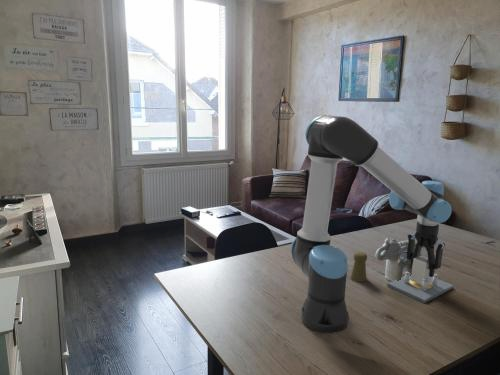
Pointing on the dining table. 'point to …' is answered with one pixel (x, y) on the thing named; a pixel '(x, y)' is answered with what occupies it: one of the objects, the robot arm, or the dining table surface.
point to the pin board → (420, 287)
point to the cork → (359, 267)
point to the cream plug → (419, 269)
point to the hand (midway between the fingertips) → (420, 280)
